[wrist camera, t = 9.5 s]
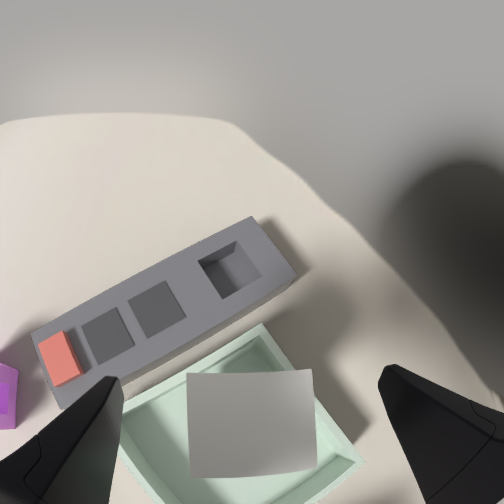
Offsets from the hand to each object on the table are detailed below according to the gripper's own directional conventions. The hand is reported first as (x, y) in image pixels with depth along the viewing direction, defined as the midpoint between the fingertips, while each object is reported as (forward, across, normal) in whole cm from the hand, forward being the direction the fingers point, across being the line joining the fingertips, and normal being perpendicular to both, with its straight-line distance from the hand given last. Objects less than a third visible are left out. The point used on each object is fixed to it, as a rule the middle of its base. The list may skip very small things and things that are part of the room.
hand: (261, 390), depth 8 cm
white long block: (+7, 0, +10) cm, 12 cm away
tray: (+6, 0, +12) cm, 13 cm away
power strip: (+13, +5, +5) cm, 15 cm away
